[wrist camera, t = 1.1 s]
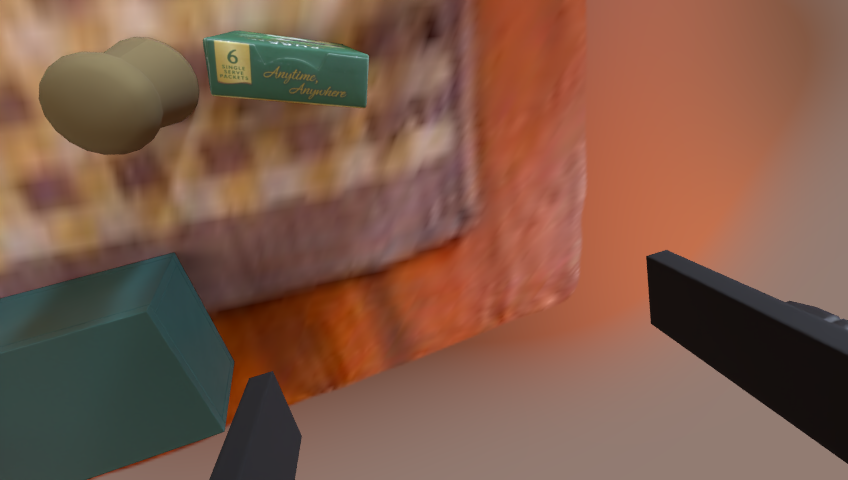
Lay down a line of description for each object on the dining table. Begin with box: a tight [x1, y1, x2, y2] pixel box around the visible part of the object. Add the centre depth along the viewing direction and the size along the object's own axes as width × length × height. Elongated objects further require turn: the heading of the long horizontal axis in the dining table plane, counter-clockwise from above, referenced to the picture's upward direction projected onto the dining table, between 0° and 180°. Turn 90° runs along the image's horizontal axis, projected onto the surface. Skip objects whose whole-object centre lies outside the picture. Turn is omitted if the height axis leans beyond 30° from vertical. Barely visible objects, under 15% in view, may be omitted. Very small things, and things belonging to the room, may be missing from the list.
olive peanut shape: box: [39, 37, 199, 155], centre depth 25 cm, size 6×6×11 cm
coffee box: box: [203, 31, 369, 108], centre depth 26 cm, size 8×3×13 cm, turn 83°
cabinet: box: [0, 253, 234, 480], centre depth 34 cm, size 16×14×9 cm
